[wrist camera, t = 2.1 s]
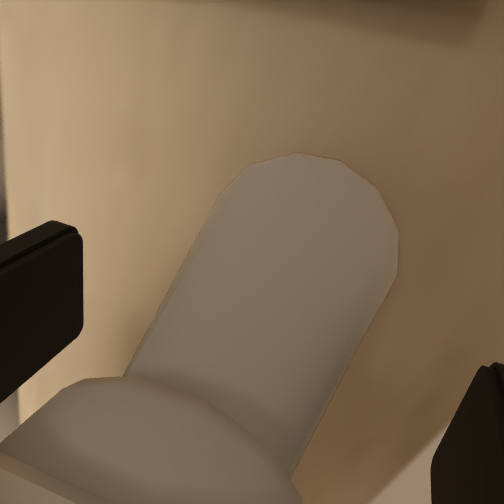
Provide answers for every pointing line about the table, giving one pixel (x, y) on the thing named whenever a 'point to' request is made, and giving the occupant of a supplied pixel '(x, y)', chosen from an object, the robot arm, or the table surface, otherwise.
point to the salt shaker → (232, 348)
